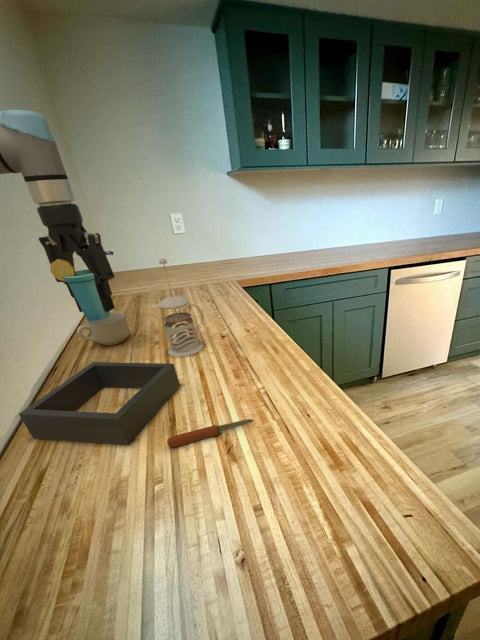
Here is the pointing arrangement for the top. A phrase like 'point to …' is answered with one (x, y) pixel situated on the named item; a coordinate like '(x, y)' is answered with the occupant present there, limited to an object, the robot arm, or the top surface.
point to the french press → (185, 342)
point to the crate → (108, 428)
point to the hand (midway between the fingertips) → (97, 309)
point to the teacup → (107, 329)
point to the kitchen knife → (203, 433)
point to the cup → (81, 288)
